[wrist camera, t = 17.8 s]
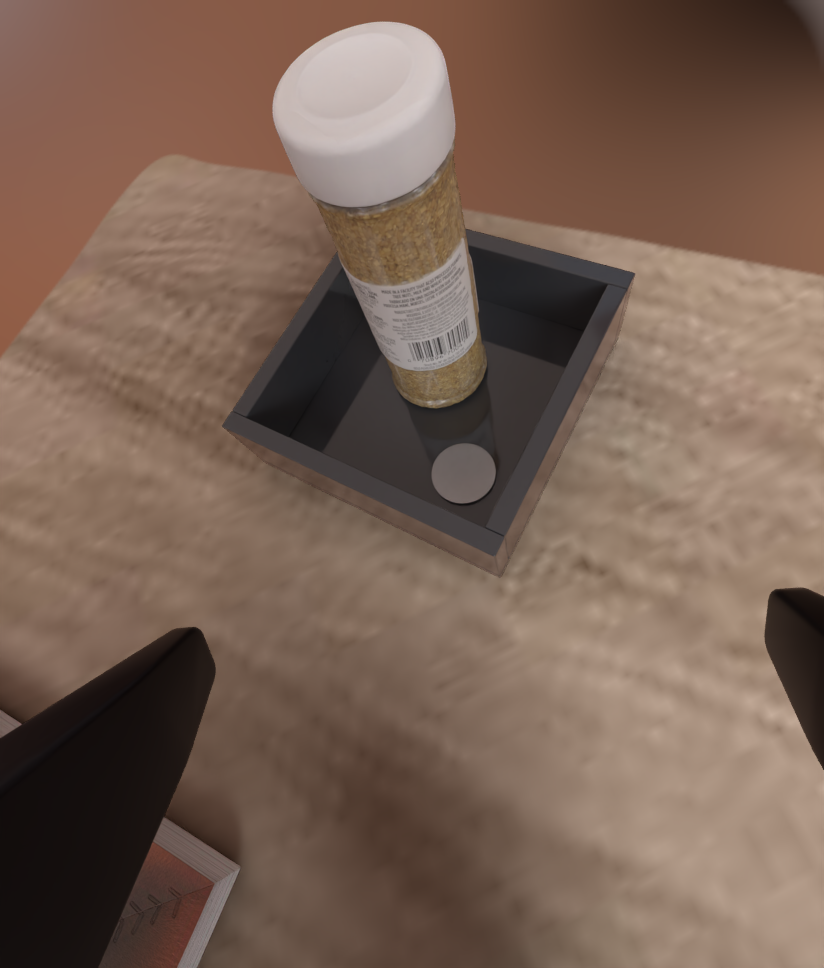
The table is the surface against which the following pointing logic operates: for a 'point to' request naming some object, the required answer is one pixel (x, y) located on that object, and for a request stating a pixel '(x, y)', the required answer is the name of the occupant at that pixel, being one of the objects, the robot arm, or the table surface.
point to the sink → (429, 431)
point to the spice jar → (390, 197)
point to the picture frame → (168, 899)
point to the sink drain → (463, 474)
